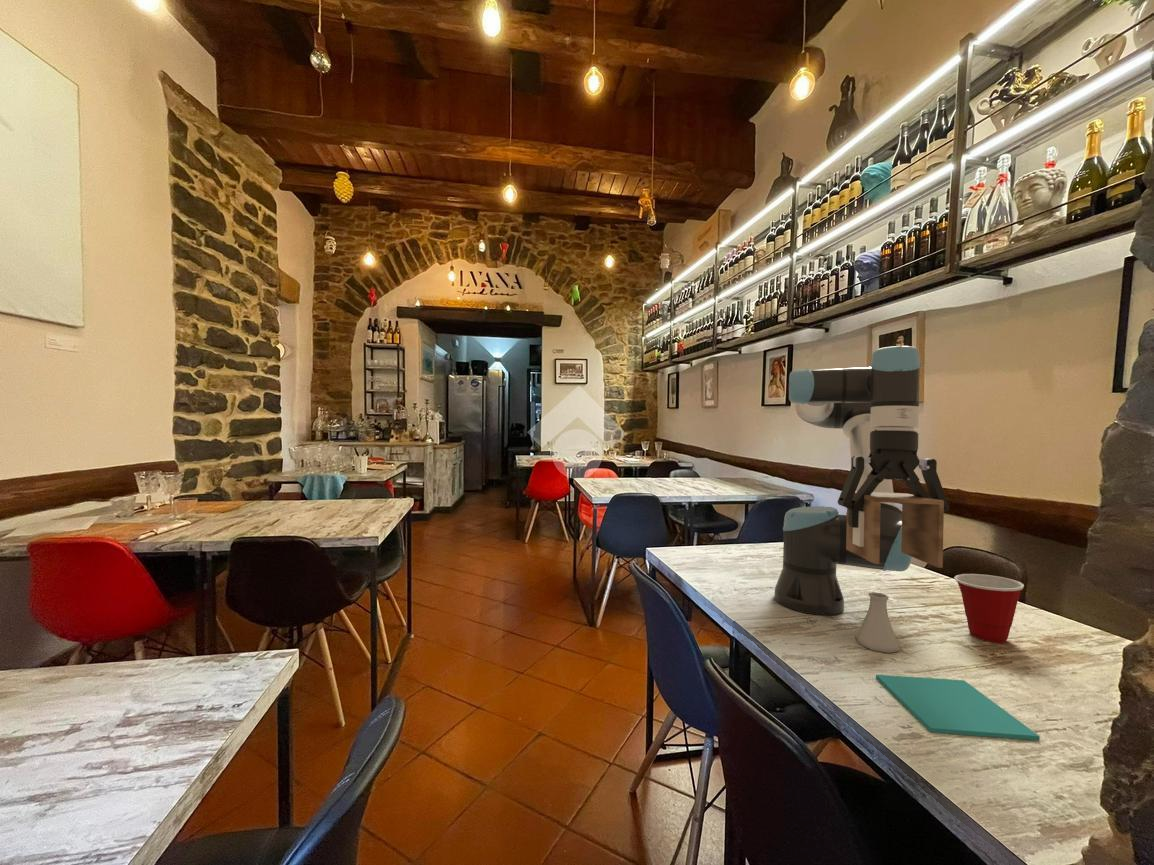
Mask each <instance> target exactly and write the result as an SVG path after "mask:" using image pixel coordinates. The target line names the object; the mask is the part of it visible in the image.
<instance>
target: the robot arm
mask: <svg viewBox="0 0 1154 865" xmlns="http://www.w3.org/2000/svg"><path fill="white" fill-rule="evenodd" d="M921 367H922V363H921V360H920V350H919V349H918V347H915V346H911V345H910V346H909V345H896V346H885V347H881V348H878V349H875V350H874V351H872V354H871V363H870V366H868V367H865V366H864V367H846V368H845V367H843V368H817V369H816V368H812V369H810V368H804V369H795V370H792V371H790V373H789V378H788V381H789V382H788V400H789V402H790V403H792V404H794V406H795V411H796V414H797V415H798V417H799V418H800V419H801V420H803V421H804V422H806V423H808V424H810V425H813V426H815V427H820V428H824V429H825V428H826V429H840V430H841V429H842V432H843V434H844V435H845V437H847V438H848V439H849V449H850V450H849V451H850V466H851V467H850V470H849V473H848V474H847V478H846V479H845V482H844V485H843V487H842V490H841V492H840V494H839V496H838V500H837V504H838V505H839V506H841V507H844V508H845V509H846V510H847V509H848V524H849V526H850V527H853V544H855V545H857V546H859V547H864V512H863V511H860V508H861V507H862V506H863V504H864V495H871V494H872V492H885V493H894V488H893V487H894V486H893V485H894V484H893V480H899V481H902V482H903V483H904V484H906V486H907V487H908V489H909V490H910V492H911V494H912V495H914V496H917V497H924V498H932V499H938V500H943V501H944V512H949V510H950V504H949V502H948V499H947V496H946V494H945V490H944V488H943V486H942V482H941V480H940V477H939V475H938V472H937V470H938V469H937V464H938V463H937V459H935V458H919V456H918V450H919V433H918V431H915V429H918V428H919V415H920V414H919V413H920V412H919V411H920V408H919V407H920V402H919V401H920V400H919V399H920V375H921V374H920V373H921V371H920V370H921ZM916 468H918V469H920V471H921V475H922V477H923V481H924V483H925V486H926V488H927V490H926V489H925V488H924V486H923V485H922V483H921V480H920V478H919V476H918V475H917V473H916V472H915V470H916ZM855 491H857V493H856V494H855ZM854 494H855V495H854ZM853 496H854V497H853ZM782 531H783V548H782V549H783V552H782V557H783V558H782V569H781V572H780V575H779V577H778V579H777V582H776V584H775V588H774V600H775V601H776V602H777V603H778V604H780V605H781V606H783V607H785V608H788V609H791V610H794V611H796V612H801V613H805V614H811V615H821V616H831V615H832V616H833V615H837V614H841V613H842V612H843V611H844V610H845V600H844V596H843V595H844V594H843V591H842V590H841V586H840V583H839V581H838V577H837V565H841V566H850V567H857V568H864V569H871V570H878V571H879V570H881V571H883V572H887V571H888V572H889V571H890V572H905V571H907V570H908V569H909V567H910V566H911V563H912V559H913V557H911V556H909V555H907V554H904V553H902V552H901V544H902V508H901V507H898V506H897V505H896V503H890V502H881V511H880V558H879V564H874V563H872V562H870V561H868V560H866V559H864V558H862V557H860V556H858V555H856V554H854V553H852V552H850V551H848V550H846V534H847V512H846V514H839V511H838V509H837V508H835V507H834V506H833V507H831V506H824V505H823V506H821V505H820V506H818V505H817V506H802V507H795V508H791V509H789V510H788V511H786V512H785V515H784V519H783V526H782Z"/></svg>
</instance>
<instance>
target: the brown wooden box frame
mask: <svg viewBox="0 0 1154 865" xmlns="http://www.w3.org/2000/svg"><path fill="white" fill-rule="evenodd" d="M856 493H857V491H855V494H856ZM855 494H854V495H855ZM853 497H854V496H853ZM881 502H890V503H895V504H901V505H902V506H901V507H902V508H901V510H902V544H901V552H902V553H904V554H907V555H909V556H911V557H912V558H914V559H917V560H919V561H920V562H924V563H926V564H929V565H931V566H933V567H935V568H938V569H943V568H944V567H943V566H944V565H943V564H944V559H943V558H944V524H945V523H944V518H945V517H944V516H945V511H944V501H943V500H938V499H932V498H931V497H930V498H924V497H917V496H914V495H913V494H912V493H911V494H910V493H908V492H907V493H906V492H904V493H903V492H902V493H901V492H893V493H885V492H872V494H871V495H864V504H863V506H862V507H861V508H860V511H863V512H864V547H859V546H857V545H855V544H853V527H850V526H849V524H848V509H847V508H846V513H847V534H846V550H848V551H850V552H852V553H854V554H856V555H858V556H860V557H862V558H864V559H866V560H868V561H870V562H872V563H874V564H879V558H880V511H881Z"/></svg>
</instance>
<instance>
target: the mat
mask: <svg viewBox="0 0 1154 865" xmlns="http://www.w3.org/2000/svg"><path fill="white" fill-rule="evenodd" d="M875 679H876V680H877V681H878V682H879V683H880V684H881V685H882V686H883V687H884V688H886V689H887V691H888V692H889V693H890V694H892V696H893V697H895V699H896V700H898V702H900V704H901V705H902V706H904V708H906V709H907V711H909V712H910V714H912V715H913V716H914V718H915V719H917V720H918V721H919V723H921V725H923V726H924V727H925V729H927V730H928V731H929V732H930V733H934V734H936V733H937V734H949V735H963V736H976V737H977V736H978V737H986V738H987V737H990V738H1000V739H1002V738H1003V739H1012V740H1013V739H1015V740H1026V741H1029V740H1030V741H1040V738H1041V736H1040V735H1038V734H1037V733H1036V732H1034V730H1032V729H1031V728H1029V727H1028V726H1026V725H1025V724H1024V723H1022V722H1021V721H1020V720H1019V719H1017V718H1016V717H1015V716H1013V715H1012V714H1010V713H1009V712H1008V711H1007V710H1005V709H1004V708H1002V707H1001V706H1000V705H998V704H997V703H996V702H995V701H993V700H991V699H990V698H989V697H988V696H986V695H985V694H983V693H982V692H981V691H979V690H978V689H977V688H976V687H975V686H973V685H971V684H970V683H969V682H967V681H966V680H964V679H948V678H933V677H919V676H905V675H903V676H902V675H886V674H875Z"/></svg>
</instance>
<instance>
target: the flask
mask: <svg viewBox="0 0 1154 865" xmlns="http://www.w3.org/2000/svg"><path fill="white" fill-rule="evenodd" d="M868 596H869V606H868V609H867V613H866V615H865V617H864V618H863V621H862V623H861V625H860V627H859V629H858V631H857V633H856V635H855V639H856V641H857V643H858V644H860V645H862V646H863V647H865V648H867V649H869V650H871V651H875V652H883V653H888V654H889V653H894V652H900V651H901V648H900V645H899V643H898V640H897V637H896V635H895V633H894V632H895V631H894V630H893V626H892V624H891V621H890V618H889V613H888V607H887V605H888V604H887V601H889V596H888V595H887V594H884V593H882V592H876V591H872V592H871V591H869V592H868Z"/></svg>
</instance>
